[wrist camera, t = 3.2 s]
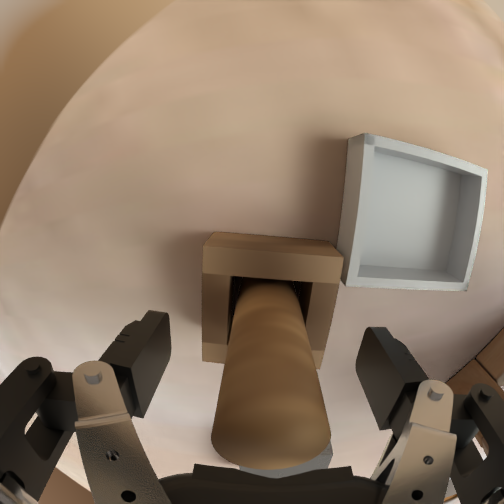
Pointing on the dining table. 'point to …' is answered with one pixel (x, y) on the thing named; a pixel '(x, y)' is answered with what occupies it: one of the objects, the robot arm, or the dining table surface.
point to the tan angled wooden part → (482, 374)
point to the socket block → (269, 267)
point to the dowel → (269, 383)
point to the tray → (409, 216)
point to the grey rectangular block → (313, 464)
